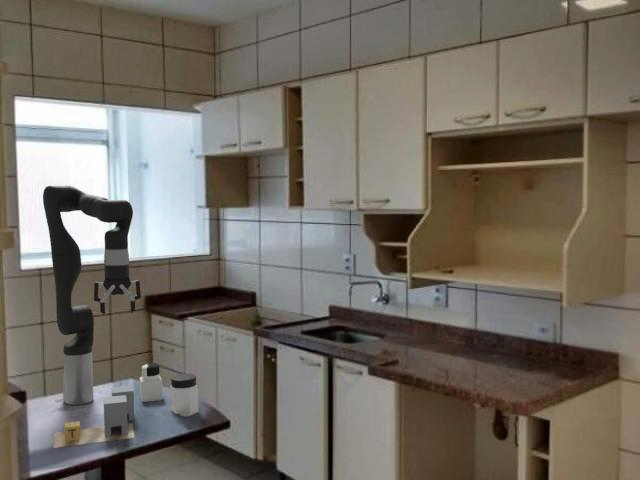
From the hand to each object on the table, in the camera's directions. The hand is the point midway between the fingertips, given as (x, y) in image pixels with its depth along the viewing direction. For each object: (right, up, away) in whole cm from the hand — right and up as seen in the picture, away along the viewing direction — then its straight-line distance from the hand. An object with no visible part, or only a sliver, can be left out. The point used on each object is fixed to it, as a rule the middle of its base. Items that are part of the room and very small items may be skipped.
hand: (117, 313), depth 203 cm
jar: (+20, -34, +6) cm, 40 cm away
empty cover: (+4, -34, -14) cm, 37 cm away
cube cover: (+2, -34, -1) cm, 34 cm away
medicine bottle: (+5, -33, +21) cm, 39 cm away
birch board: (-2, -35, -16) cm, 39 cm away
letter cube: (-7, -34, -18) cm, 39 cm away
